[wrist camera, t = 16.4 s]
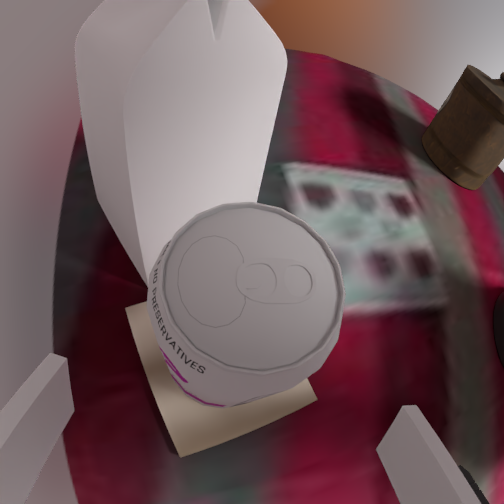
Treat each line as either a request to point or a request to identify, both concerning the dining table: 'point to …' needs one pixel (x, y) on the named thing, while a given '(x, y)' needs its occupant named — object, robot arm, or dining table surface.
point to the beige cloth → (195, 414)
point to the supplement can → (244, 303)
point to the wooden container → (469, 129)
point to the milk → (175, 111)
